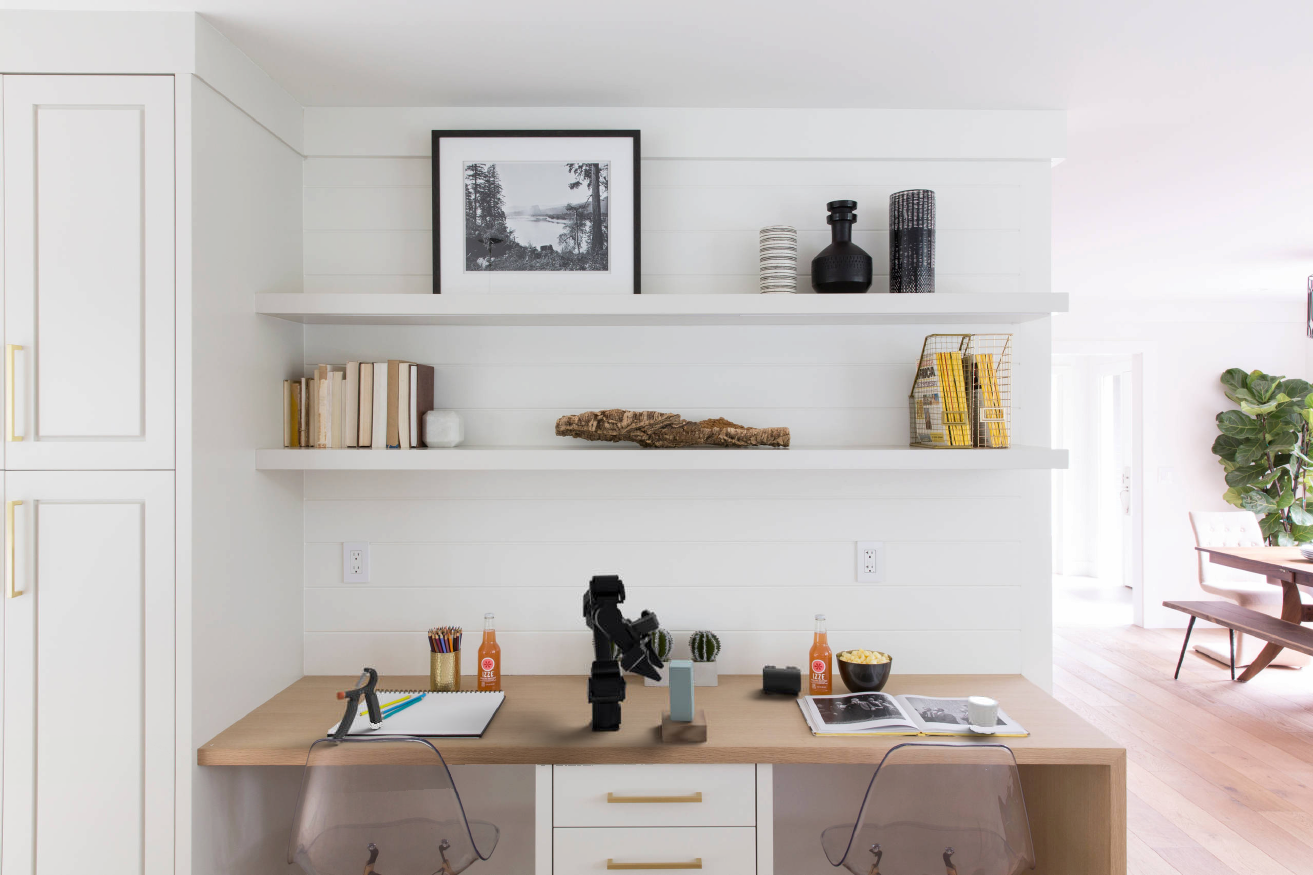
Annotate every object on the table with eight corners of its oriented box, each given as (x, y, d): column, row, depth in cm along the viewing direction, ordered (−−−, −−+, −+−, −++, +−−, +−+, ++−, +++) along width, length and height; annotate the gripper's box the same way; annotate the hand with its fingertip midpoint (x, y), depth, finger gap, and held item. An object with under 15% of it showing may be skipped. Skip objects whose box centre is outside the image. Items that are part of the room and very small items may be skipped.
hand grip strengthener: (330, 744, 169) (330, 678, 168) (376, 726, 179) (376, 663, 179) (336, 747, 167) (336, 679, 167) (383, 728, 178) (383, 664, 178)
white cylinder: (999, 727, 178) (1000, 698, 178) (996, 737, 172) (996, 707, 172) (968, 722, 181) (968, 693, 181) (964, 731, 175) (964, 701, 175)
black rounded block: (762, 696, 199) (762, 671, 199) (762, 687, 206) (762, 663, 206) (801, 698, 198) (801, 672, 198) (799, 689, 205) (799, 664, 205)
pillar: (670, 720, 173) (668, 666, 173) (673, 712, 178) (671, 659, 178) (692, 721, 172) (690, 667, 172) (694, 712, 177) (692, 660, 177)
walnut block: (662, 743, 170) (662, 725, 170) (661, 726, 180) (661, 709, 180) (706, 742, 170) (706, 725, 170) (703, 725, 180) (703, 709, 180)
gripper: (635, 611, 167) (684, 661, 166) (642, 593, 185) (687, 639, 184) (599, 646, 167) (649, 696, 166) (610, 624, 186) (655, 670, 185)
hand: (661, 673), depth 176 cm, fingers open, 9 cm apart
